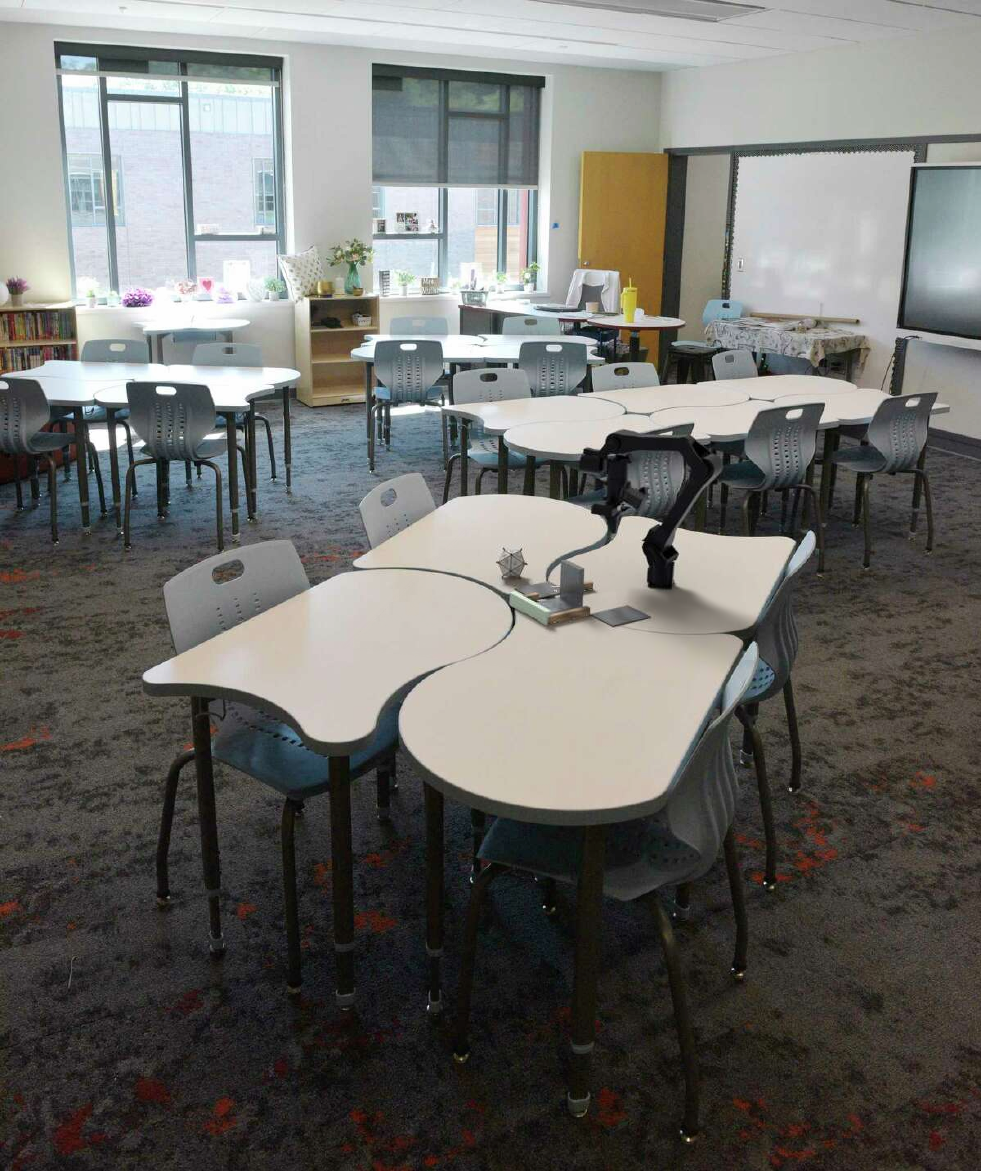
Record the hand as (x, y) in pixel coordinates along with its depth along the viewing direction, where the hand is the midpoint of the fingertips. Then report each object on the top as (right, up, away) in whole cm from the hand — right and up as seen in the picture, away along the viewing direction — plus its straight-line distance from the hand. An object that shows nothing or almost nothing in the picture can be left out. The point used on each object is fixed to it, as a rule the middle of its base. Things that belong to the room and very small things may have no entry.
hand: (614, 533), depth 294 cm
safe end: (-24, -21, -25) cm, 40 cm away
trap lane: (-13, -19, -18) cm, 30 cm away
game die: (-28, -12, +2) cm, 30 cm away
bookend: (-18, -20, -21) cm, 34 cm away
